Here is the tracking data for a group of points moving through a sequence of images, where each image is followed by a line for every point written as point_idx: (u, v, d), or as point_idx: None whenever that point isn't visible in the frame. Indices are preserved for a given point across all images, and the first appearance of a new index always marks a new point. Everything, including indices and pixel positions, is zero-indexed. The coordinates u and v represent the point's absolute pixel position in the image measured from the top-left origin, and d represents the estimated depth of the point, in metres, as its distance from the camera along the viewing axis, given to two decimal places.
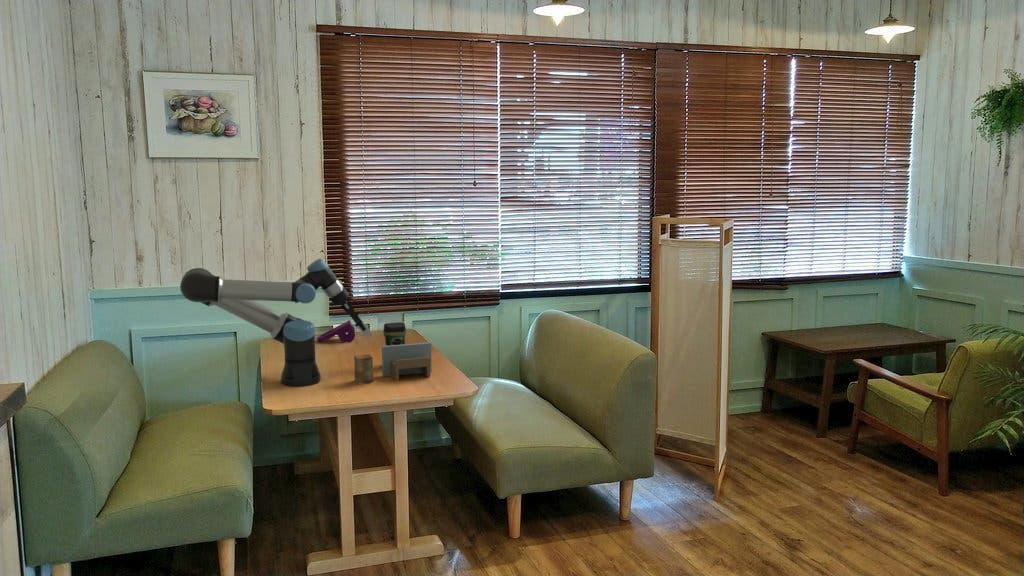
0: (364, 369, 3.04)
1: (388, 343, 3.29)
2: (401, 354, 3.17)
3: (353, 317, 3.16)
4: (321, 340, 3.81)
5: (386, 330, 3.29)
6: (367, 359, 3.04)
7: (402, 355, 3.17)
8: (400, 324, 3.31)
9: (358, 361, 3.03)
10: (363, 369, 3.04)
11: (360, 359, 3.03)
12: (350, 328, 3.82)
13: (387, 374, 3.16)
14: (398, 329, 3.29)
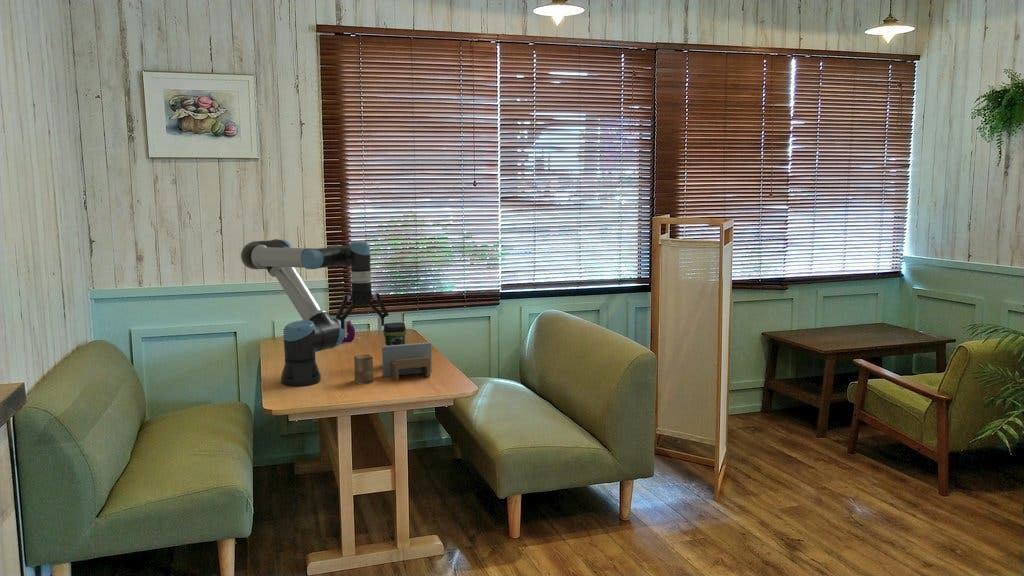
0: (364, 369, 3.04)
1: (388, 343, 3.29)
2: (401, 354, 3.17)
3: (339, 310, 3.01)
4: None
5: (386, 330, 3.29)
6: (367, 359, 3.04)
7: (402, 355, 3.17)
8: (400, 324, 3.31)
9: (358, 361, 3.03)
10: (363, 369, 3.04)
11: (360, 359, 3.03)
12: (350, 328, 3.81)
13: (387, 374, 3.16)
14: (398, 329, 3.29)
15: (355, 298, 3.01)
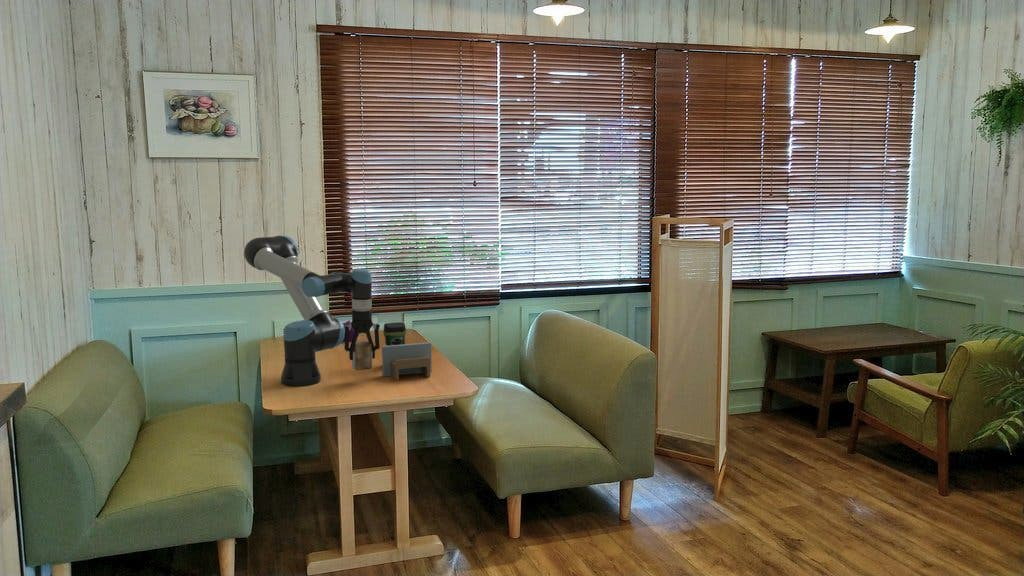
0: (362, 355, 3.04)
1: (388, 343, 3.29)
2: (401, 354, 3.17)
3: (345, 341, 3.04)
4: None
5: (386, 330, 3.29)
6: (366, 346, 3.04)
7: (402, 355, 3.17)
8: (400, 324, 3.31)
9: (357, 348, 3.02)
10: (362, 356, 3.04)
11: (359, 346, 3.03)
12: None
13: (387, 374, 3.16)
14: (398, 329, 3.29)
15: (356, 325, 3.03)
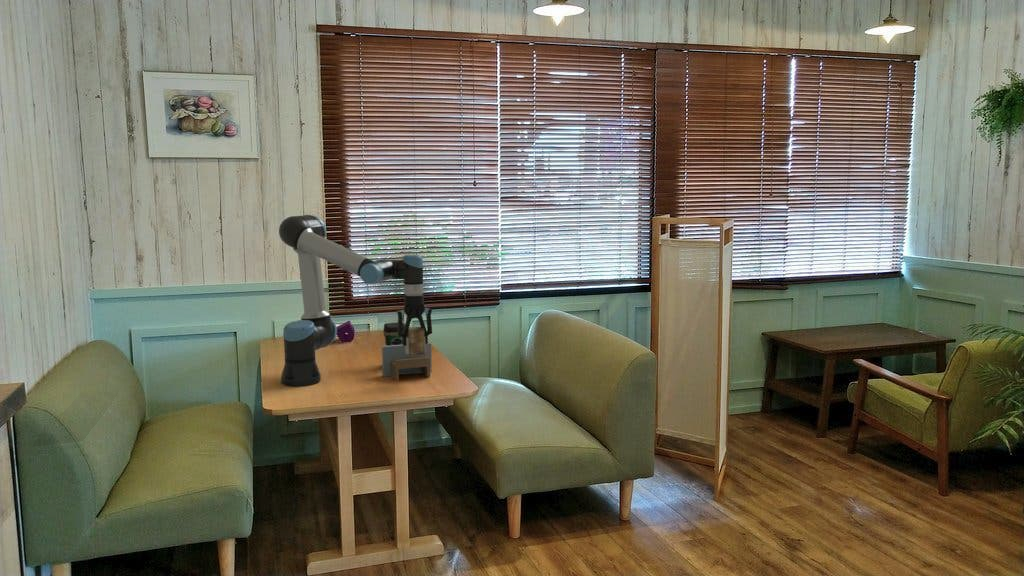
0: (416, 340, 3.03)
1: (388, 343, 3.29)
2: (401, 354, 3.17)
3: (398, 327, 3.03)
4: None
5: (386, 330, 3.29)
6: (419, 331, 3.03)
7: (402, 355, 3.17)
8: None
9: (410, 333, 3.02)
10: (415, 341, 3.03)
11: (412, 331, 3.02)
12: (350, 328, 3.81)
13: (387, 374, 3.16)
14: None
15: (408, 310, 3.02)
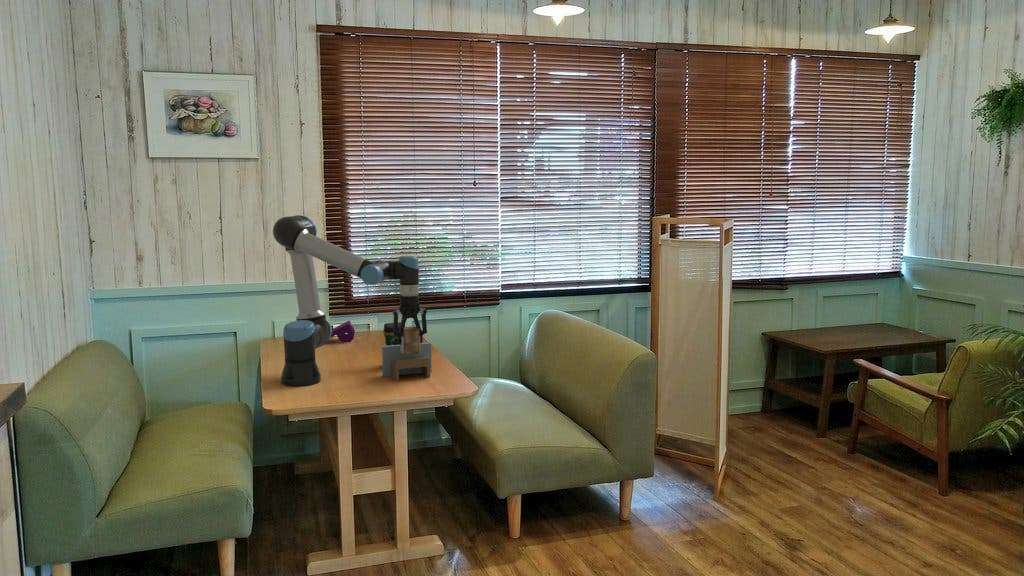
0: (411, 340, 3.09)
1: (388, 343, 3.29)
2: (401, 354, 3.17)
3: (393, 326, 3.10)
4: None
5: (386, 330, 3.29)
6: (414, 330, 3.09)
7: (402, 355, 3.17)
8: None
9: (405, 332, 3.08)
10: (410, 340, 3.09)
11: (407, 330, 3.08)
12: (349, 328, 3.81)
13: (387, 374, 3.16)
14: (398, 329, 3.29)
15: (404, 310, 3.09)
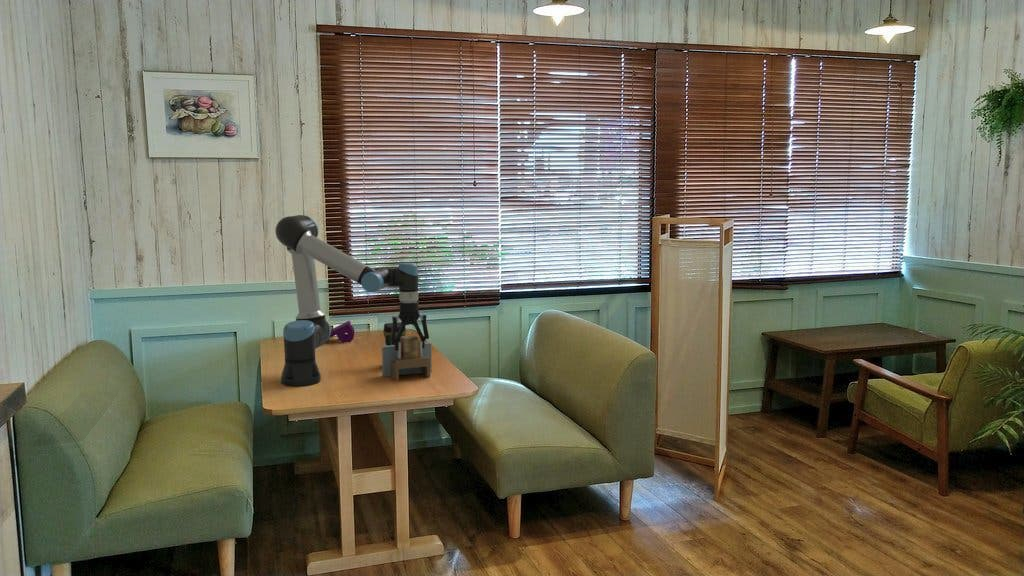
0: (410, 349, 3.11)
1: (388, 343, 3.29)
2: None
3: (391, 332, 3.11)
4: None
5: (386, 330, 3.29)
6: (413, 339, 3.11)
7: None
8: (400, 324, 3.31)
9: (405, 341, 3.10)
10: (410, 350, 3.11)
11: (407, 339, 3.10)
12: (349, 329, 3.81)
13: (387, 374, 3.16)
14: (398, 329, 3.29)
15: (403, 317, 3.10)
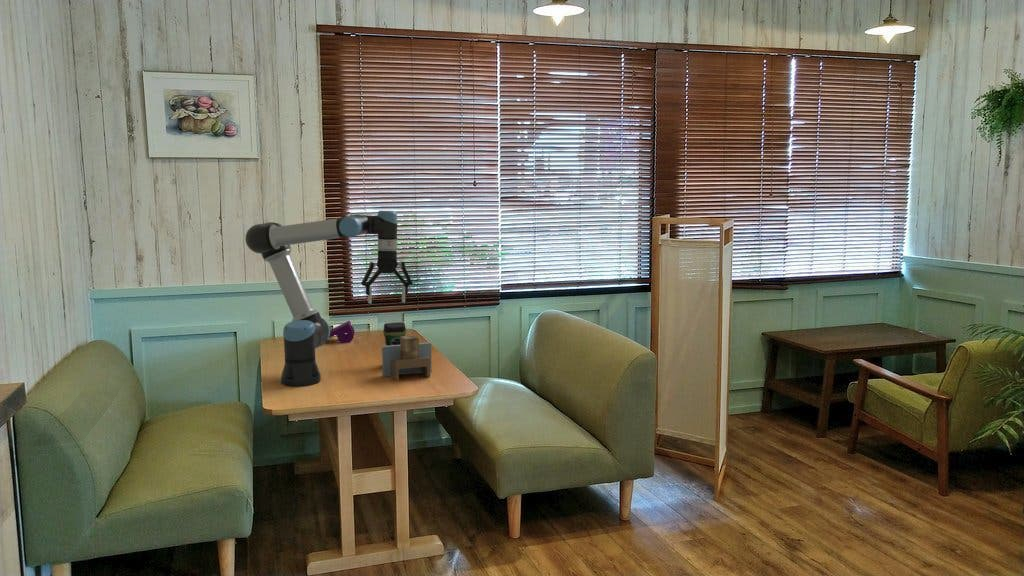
0: (410, 349, 3.11)
1: (388, 343, 3.29)
2: None
3: (364, 276, 3.09)
4: None
5: (386, 330, 3.29)
6: (413, 339, 3.11)
7: None
8: (400, 324, 3.31)
9: (405, 341, 3.10)
10: (410, 350, 3.11)
11: (407, 339, 3.10)
12: (349, 329, 3.81)
13: (387, 374, 3.16)
14: (398, 329, 3.29)
15: (381, 265, 3.09)
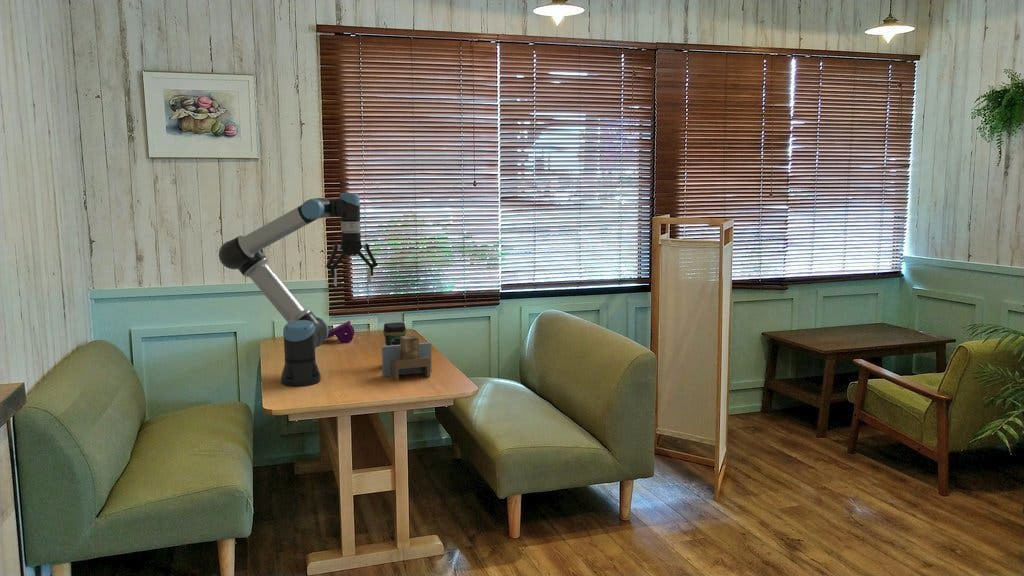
0: (410, 349, 3.11)
1: (388, 343, 3.29)
2: None
3: (329, 259, 3.10)
4: None
5: (386, 330, 3.29)
6: (413, 339, 3.11)
7: None
8: (400, 324, 3.31)
9: (405, 341, 3.10)
10: (410, 350, 3.11)
11: (407, 339, 3.10)
12: (349, 329, 3.81)
13: (387, 374, 3.16)
14: (398, 329, 3.29)
15: (345, 248, 3.10)
